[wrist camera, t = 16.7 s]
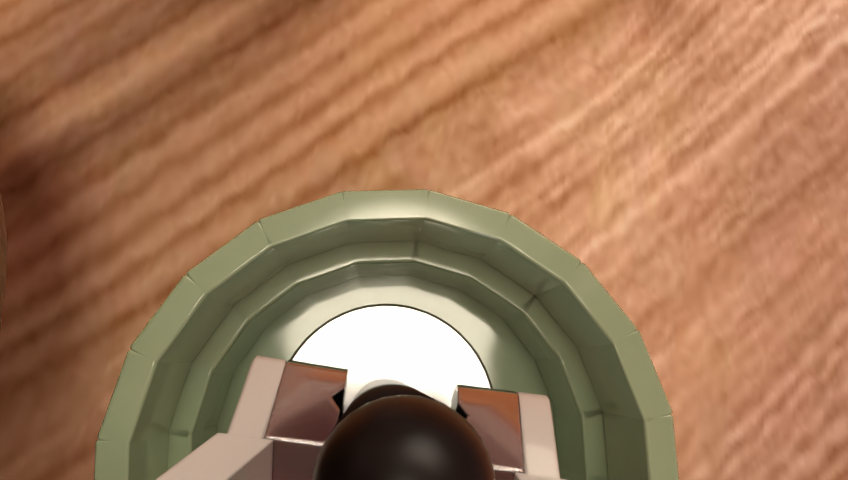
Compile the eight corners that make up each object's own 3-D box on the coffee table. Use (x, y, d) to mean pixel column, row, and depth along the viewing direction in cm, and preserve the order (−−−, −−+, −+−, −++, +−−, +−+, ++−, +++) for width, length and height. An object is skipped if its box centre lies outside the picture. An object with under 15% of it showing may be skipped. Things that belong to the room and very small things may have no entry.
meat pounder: (479, 306, 21) (691, 181, 7) (490, 510, 20) (763, 848, 6) (282, 312, 20) (84, 194, 6) (283, 522, 19) (51, 913, 5)
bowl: (575, 234, 23) (651, 183, 17) (607, 651, 21) (709, 776, 15) (182, 245, 22) (104, 196, 16) (174, 681, 20) (79, 829, 14)
